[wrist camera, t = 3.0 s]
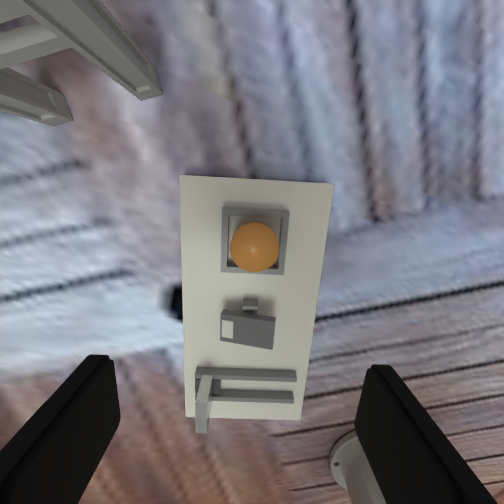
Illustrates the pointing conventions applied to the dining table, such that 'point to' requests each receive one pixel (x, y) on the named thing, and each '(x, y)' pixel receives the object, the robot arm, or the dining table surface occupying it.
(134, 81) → the stool
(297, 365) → the switch panel
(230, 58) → the dining table surface
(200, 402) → the grey slider handle
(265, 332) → the rocker switch
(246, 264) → the push button
